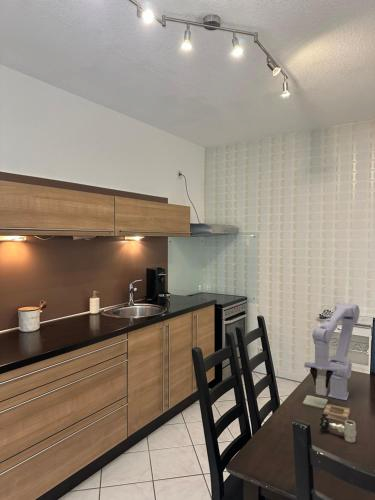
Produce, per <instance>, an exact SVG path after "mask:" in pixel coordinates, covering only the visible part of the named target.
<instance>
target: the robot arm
mask: <svg viewBox="0 0 375 500" xmlns="http://www.w3.org/2000/svg"><path fill="white" fill-rule="evenodd" d="M360 313H361V312H360V306H359V305H358V304H357V303H356V304H354V303H353V304H352V303H346V302H340V301H337V302H336V304H335V305H334V312H333V313H332V315H331V316H330V317H328V318H327V317H326V318H325V320H324V321H323V322H322V324H320V326H319V327H316V328H314V329H313V331H312V334H311V335H312V340H313V344H314V362H307V361H305V362H304V363H303V365H304V366H303V367H304V368H305V369H307V368H310V369H309V373H310V374H311V377H312V378H313V382H314V386H315V387H316V377H317V375H318V370H319V371H325V376H326V388H327V389H328V388H329V387H330V389H329V393H328V395H327V396H328V397H329V398H334V399H338V400H341V401H348V397H349V394H350V393H349V391H348V380H349V378H350V377H351V375H352V371H353V370H352V366H353V364H352V362H351V361H350V359H349V358H348V354H349V350H350V343H351V340H352V335H353V330H354V326H355V324H357V323H358V321H359V317H360ZM339 322H341V323H342V325H341V330H340V333H339V338H338V343H337V347H336V352H335V354H334V355H332V356H330V355H329V354H330V351H329V349H330V345H329V344H330V342H331V340H332V337H333V333H334V332H335V331H336V329H337V328H338V323H339ZM329 383H330V385H329Z"/></svg>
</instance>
